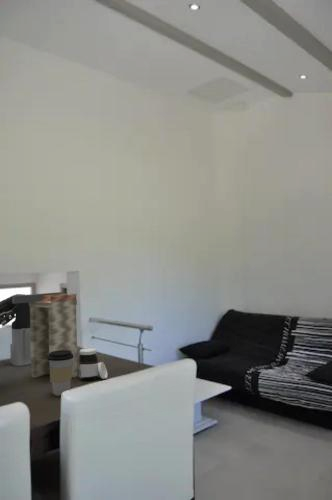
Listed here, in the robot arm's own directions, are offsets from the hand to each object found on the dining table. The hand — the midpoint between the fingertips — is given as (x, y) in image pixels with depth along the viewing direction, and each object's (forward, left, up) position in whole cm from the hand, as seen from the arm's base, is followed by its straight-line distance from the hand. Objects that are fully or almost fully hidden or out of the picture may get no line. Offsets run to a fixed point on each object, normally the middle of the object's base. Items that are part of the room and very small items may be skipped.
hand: (14, 306), depth 172 cm
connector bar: (+3, +11, +1) cm, 11 cm away
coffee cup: (+26, -3, -31) cm, 41 cm away
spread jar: (+25, +18, -31) cm, 44 cm away
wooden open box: (+8, +14, -31) cm, 35 cm away
